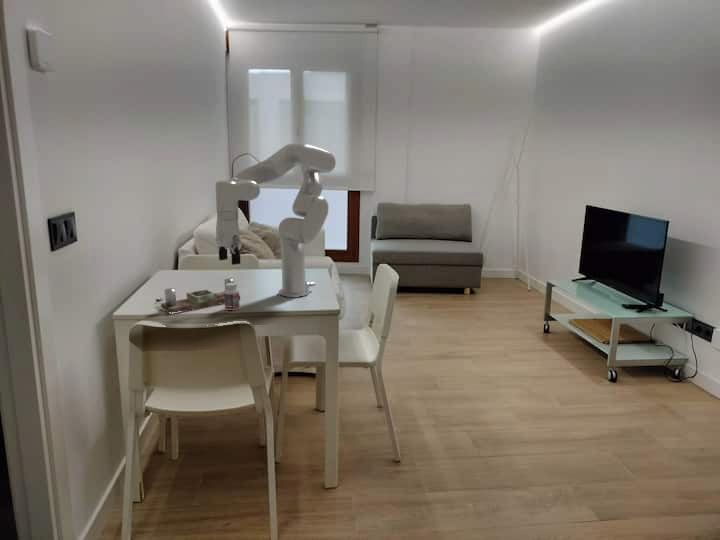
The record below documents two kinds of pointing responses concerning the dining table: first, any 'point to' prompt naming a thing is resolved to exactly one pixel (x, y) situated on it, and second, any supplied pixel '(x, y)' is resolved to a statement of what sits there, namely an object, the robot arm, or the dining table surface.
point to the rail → (197, 301)
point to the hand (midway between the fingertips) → (229, 261)
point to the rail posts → (171, 296)
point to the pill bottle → (231, 297)
